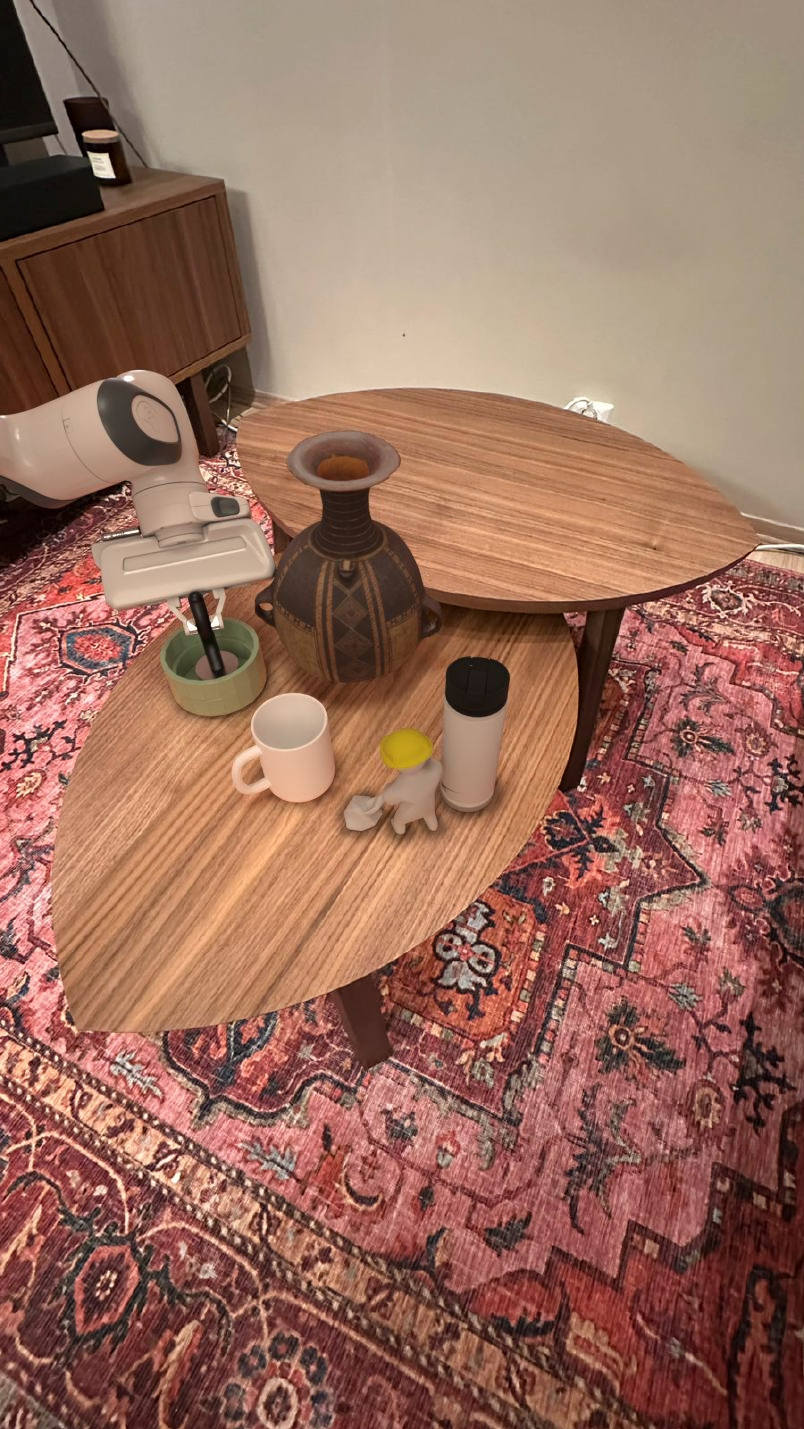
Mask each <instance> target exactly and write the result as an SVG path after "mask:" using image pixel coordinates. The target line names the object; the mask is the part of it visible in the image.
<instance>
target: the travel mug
mask: <svg viewBox="0 0 804 1429" xmlns="http://www.w3.org/2000/svg"><path fill="white" fill-rule="evenodd" d="M444 681H445V682H444V693H443V694H444V695H443V714H442V718H443V719H442V732H441V733H442V736H441V757H440V763H441V765H442V767H443V774H442V777H441V780H440V782H439V793H440V797H441V799H442V800H443V801H444V803H445V804H446V805H447V806H448V807H450V808H451V809H453V810H456V811H458V812H461V813H474V812H478V811H481V810H482V809H485V808H486V807H487V806H488V805H489V804H491V802H492V799H493V797H494V793H495V786H496V780H497V773H498V766H499V760H500V759H499V758H500V755H501V754H500V753H501V747H502V746H501V745H502V740H503V733H504V727H505V719H506V713H507V707H508V701H509V689H510V684H511V674H510V671H509V669H508V668H507V667H506V665H504V664H503V663H502V662H501V661H499V660H497V659H494V658H491V657H489V658H487V657H482V656H471V655H468V656H461V657H459V658H456V659H455V660H453V661H452V662H451V663H450V664H449V665H448V666H447V668H446V671H445V680H444Z"/></svg>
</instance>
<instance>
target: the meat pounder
mask: <svg viewBox="0 0 804 1429" xmlns="http://www.w3.org/2000/svg"><path fill="white" fill-rule="evenodd" d="M187 601H188V602H187V603H188V604H189V608H190V611H191V614H192V617H193V619H194V620H195V623H196V626H197V629H198V632H199V636H200V639H201V642H202V645H203V648H204V651H205V654H206V655H204V656H203V657H202V658H200V659H199V661H198V662H197V664H196V666H195V672H196V675H197V678H198V681H204V680H212V679H217V678H220V677H223V676H226V675H229V674H231V673H232V672H234V671H236V670H237V669H239V668H240V664H239V661H238V658H237V657H236V656H235V655H234V654H232V653H230V652H227V651H220V650H219V646H218V643H217V640H216V637H215V633H214V631H213V630H212V627H211V621H210V618H209V615H210V614H209V611H208V608H207V603H206V601H205V597H204V594H203V595H202V594H201V593H200V592H198V591H192V592H190V593H189V595H188V598H187Z"/></svg>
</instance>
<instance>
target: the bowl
mask: <svg viewBox="0 0 804 1429" xmlns="http://www.w3.org/2000/svg"><path fill="white" fill-rule="evenodd" d="M222 618H223V622H224V626H225V628H224V629H219V630H214V633H215V637H216V640H217V643H218V646H219V650H220V651H227V652H230V653H232V654H234V655H235V656H236V657H237V658H238V661H239V664H240V668H239V669H237V670H236V671H234V672H232V673H231V674H229V675H226V676H223V677H220V678H217V679H212V680H204V681H198V678H197V675H196V672H195V666H196V664H197V662H198V661H199V659H200V658H202V657H203V656H204V655H206V654H205V651H204V648H203V645H202V642H201V639H200V636H199V634H195V635H191V636H186V634H185V630H184V626H183V625H182V626H181V627H179V628H177V629H176V630H174V632H172V634H170V635H169V636H168V637H167V638H166V639H165V641H164V643H163V645H162V646H161V647H160V648H161V649H160V655H159V663H160V665H161V668H162V670H163V673H164V676H165V678H166V681H167V683H168V686H169V688H170V690H171V693H172V695H173V698H174V701H175V702H176V704H178V705H179V706H180V707H181V708H182V709H183V710H185V711H187V712H189V713H191V714H194V715H197V716H203V717H204V716H205V717H218V716H225V715H230V714H232V713H234V712H237V711H240V710H243V709H244V708H245V707H247V706H248V705H250V704H251V703H253V702H254V701H255V700H256V699H257V698H258V696H259V695H260V694H261V693H262V692H263V691H264V688H265V685H266V682H267V680H268V679H267V678H268V677H267V676H268V675H267V666H266V663H265V659H264V654H263V651H262V647H261V643H260V642H261V641H260V638H259V636H258V634H257V632H256V630H255V629H254V628H253V627H252V626H251V625H249V624H248V623H246V622H245V621H244V620H240V619H237V618H234V617H231V616H230V617H229V616H222ZM211 623H212V622H211Z"/></svg>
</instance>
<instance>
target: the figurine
mask: <svg viewBox="0 0 804 1429" xmlns="http://www.w3.org/2000/svg"><path fill="white" fill-rule="evenodd" d="M379 751H380V757H381V761H382V763H383V764H384V765H385V766H387V767H388V768H390V769H394V770H397V771H399V774H398V775H397V776H396V777H395V778H394V779H393V780H392V781H391V782H388V783H387V784H385V786H384V788H383V789H382V791H381V793H380V794H379V795H376V796H373V797H371V796H369V795H353V796H352V798H351V800H350V801H349V803H348V805H347V806H346V808H345V809H344V811H343V817H344V821H345V827H346V828H347V830H349V831H358V832H363V831H366V830H368V829H371V828H373V827H375V826H376V825H377V823H378V822H379V820H380V819H381V818H382V816H383V814H384V812H383V810H382V806H383V805H384V804H387V805H388V806H395V805H397V804H399V805H398V807H397V809H396V811H395V813H394V816H393V817H392V818H391V819H390V823H391V825H392V827H393V830H394V831H395V833H396V834H398V835H404V834H405V832H406V828H407V827H406V825H407V824H408V823H412V822H415V821H417V820H421V819H423V821H424V822H425V824H426V826H427V827H428V829H429V830H430V831H431V832H436V831H437V829H438V826H439V823H438V822H439V821H438V819H437V815H436V794H435V792H436V789H437V787H438V786H439V785H440V780H441V777H442V774H443V767H442V765H441V761H439V760H437V759H436V758H431V757H432V754H433V752H434V743H433V741H432V740H431V739H430V737H428V736H427V735H426V734H423V733H422V732H421V731H420V730H418V729H416V728H412V727H404V728H400V729H397V730H395V731H394V732H391V733H389V734H387V735H385V736H384V737H383V738H382V739H381V741H380V744H379Z"/></svg>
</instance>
